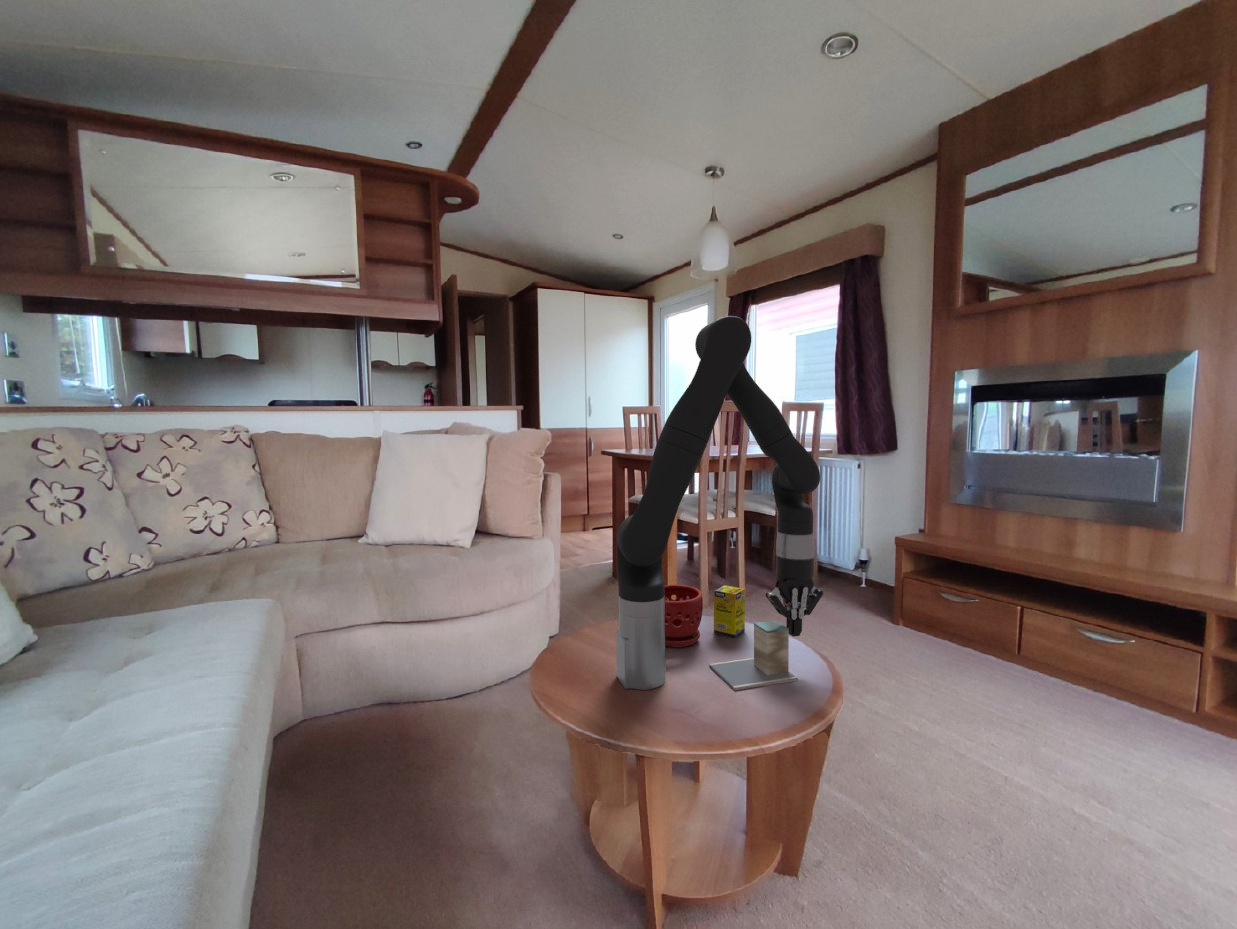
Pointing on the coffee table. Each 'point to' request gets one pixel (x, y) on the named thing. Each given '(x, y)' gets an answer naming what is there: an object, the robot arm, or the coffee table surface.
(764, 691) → the coffee table surface
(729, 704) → the coffee table surface
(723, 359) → the robot arm
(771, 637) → the birch block
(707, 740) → the coffee table surface
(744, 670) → the felt mat
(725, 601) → the supplement box
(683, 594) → the plant pot
